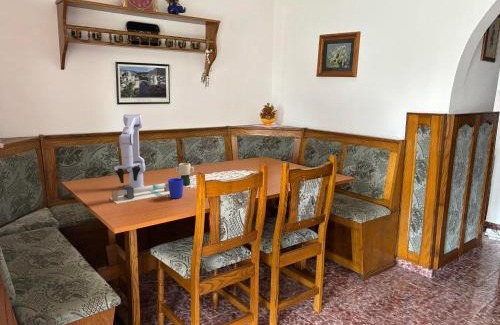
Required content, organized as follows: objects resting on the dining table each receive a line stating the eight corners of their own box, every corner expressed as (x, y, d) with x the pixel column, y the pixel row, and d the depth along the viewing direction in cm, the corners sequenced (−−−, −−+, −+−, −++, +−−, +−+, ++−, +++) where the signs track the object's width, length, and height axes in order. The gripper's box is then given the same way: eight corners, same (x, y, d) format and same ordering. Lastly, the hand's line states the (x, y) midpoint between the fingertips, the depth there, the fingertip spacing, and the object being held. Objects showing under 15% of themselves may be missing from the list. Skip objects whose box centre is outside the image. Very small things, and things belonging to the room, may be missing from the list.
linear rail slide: (109, 198, 218) (108, 189, 217) (164, 189, 237) (163, 180, 236) (116, 203, 209) (116, 194, 208) (173, 193, 227) (172, 184, 226)
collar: (123, 195, 220) (122, 185, 219) (128, 194, 222) (128, 184, 221) (128, 199, 214) (127, 188, 213) (134, 198, 216) (133, 187, 215)
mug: (183, 193, 229) (182, 176, 227) (184, 199, 217) (183, 181, 215) (168, 193, 227) (167, 176, 225) (168, 200, 215) (168, 182, 213)
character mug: (195, 183, 250) (194, 162, 248) (193, 186, 243) (192, 165, 241) (177, 183, 251) (177, 162, 248) (175, 186, 244) (174, 165, 241)
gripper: (117, 159, 204) (119, 185, 206) (143, 155, 214) (144, 180, 216) (111, 157, 209) (113, 183, 211) (136, 154, 219) (138, 178, 221)
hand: (128, 181), depth 214 cm, fingers open, 7 cm apart
